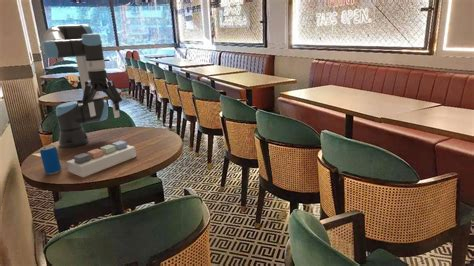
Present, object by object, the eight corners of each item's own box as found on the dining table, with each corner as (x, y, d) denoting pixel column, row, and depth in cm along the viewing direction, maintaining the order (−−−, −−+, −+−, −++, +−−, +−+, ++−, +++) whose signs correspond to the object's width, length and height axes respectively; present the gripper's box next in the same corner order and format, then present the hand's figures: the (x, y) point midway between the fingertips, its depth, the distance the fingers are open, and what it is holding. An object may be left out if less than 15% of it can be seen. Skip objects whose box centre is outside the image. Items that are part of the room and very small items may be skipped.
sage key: (101, 153, 158) (100, 147, 157) (110, 150, 161) (109, 144, 160) (107, 155, 155) (106, 149, 154) (116, 152, 158) (114, 146, 158)
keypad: (68, 171, 150) (66, 161, 148) (121, 152, 171) (120, 143, 170) (83, 177, 143) (80, 166, 141) (136, 156, 164) (134, 146, 163)
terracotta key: (88, 157, 153) (87, 151, 152) (98, 154, 156) (96, 148, 155) (94, 159, 150) (93, 153, 149) (103, 156, 154) (102, 150, 153)
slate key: (113, 149, 163) (112, 143, 162) (121, 146, 166) (120, 140, 165) (119, 150, 160) (118, 145, 159) (127, 147, 163) (126, 142, 162)
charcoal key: (75, 162, 148) (73, 156, 147) (85, 159, 151) (83, 152, 150) (80, 164, 145) (79, 158, 144) (90, 161, 149) (89, 154, 148)
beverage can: (49, 169, 153) (43, 145, 149) (63, 168, 154) (58, 144, 150) (42, 175, 147) (36, 150, 143) (57, 174, 147) (51, 149, 144)
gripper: (68, 71, 147) (77, 117, 153) (114, 71, 138) (122, 119, 145) (81, 69, 153) (89, 113, 160) (125, 68, 145) (132, 115, 151)
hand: (105, 116), depth 152 cm, fingers open, 13 cm apart
